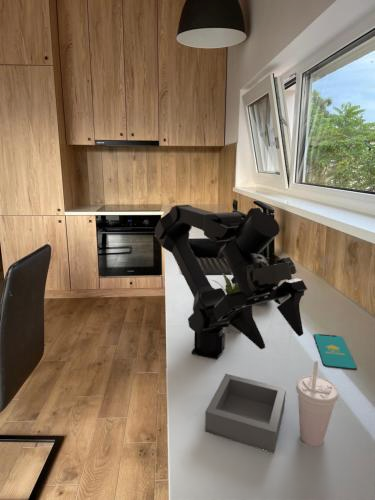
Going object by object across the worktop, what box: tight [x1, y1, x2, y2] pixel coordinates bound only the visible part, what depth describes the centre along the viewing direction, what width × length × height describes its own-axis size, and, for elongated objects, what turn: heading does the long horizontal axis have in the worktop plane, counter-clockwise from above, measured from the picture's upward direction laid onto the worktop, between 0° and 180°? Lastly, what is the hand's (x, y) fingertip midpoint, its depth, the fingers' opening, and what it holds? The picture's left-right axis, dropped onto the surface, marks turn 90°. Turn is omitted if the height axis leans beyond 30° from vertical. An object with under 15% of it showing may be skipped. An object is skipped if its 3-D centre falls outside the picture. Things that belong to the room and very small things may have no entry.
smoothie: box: [295, 360, 339, 447], centre depth 56 cm, size 6×6×14 cm
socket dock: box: [204, 373, 287, 454], centre depth 61 cm, size 12×12×4 cm
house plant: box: [212, 271, 254, 334], centre depth 93 cm, size 14×14×16 cm
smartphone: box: [313, 333, 358, 371], centre depth 84 cm, size 7×1×15 cm
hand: (283, 341), depth 61 cm, fingers open, 9 cm apart
